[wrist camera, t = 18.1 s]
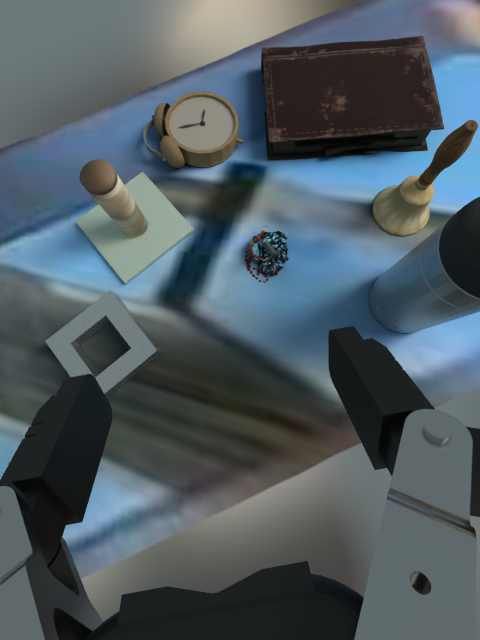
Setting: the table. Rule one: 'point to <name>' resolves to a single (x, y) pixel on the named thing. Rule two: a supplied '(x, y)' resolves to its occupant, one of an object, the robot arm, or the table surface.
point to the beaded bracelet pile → (268, 253)
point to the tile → (149, 247)
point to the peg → (113, 197)
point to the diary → (349, 98)
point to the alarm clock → (195, 130)
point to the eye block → (91, 322)
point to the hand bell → (419, 187)
